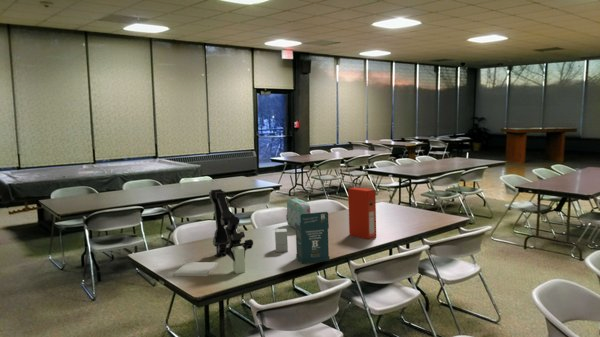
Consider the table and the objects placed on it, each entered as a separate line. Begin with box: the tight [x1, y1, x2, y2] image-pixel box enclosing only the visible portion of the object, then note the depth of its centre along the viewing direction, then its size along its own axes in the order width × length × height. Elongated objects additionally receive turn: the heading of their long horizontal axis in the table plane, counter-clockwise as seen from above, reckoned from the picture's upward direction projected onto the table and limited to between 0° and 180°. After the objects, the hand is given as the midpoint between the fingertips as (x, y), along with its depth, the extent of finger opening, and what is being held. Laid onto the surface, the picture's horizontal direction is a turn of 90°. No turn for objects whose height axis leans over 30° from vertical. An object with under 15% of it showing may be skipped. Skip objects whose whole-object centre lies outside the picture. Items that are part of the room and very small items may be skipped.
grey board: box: [173, 261, 219, 277], centre depth 243 cm, size 18×18×2 cm
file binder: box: [347, 186, 377, 240], centre depth 300 cm, size 8×17×32 cm, turn 39°
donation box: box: [295, 211, 331, 265], centre depth 256 cm, size 16×16×28 cm
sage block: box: [231, 246, 246, 274], centre depth 238 cm, size 5×5×13 cm
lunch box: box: [285, 197, 311, 230], centre depth 331 cm, size 27×10×21 cm, turn 25°
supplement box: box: [274, 228, 289, 253], centre depth 274 cm, size 7×7×13 cm
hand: (239, 260), depth 237 cm, fingers closed on sage block, 5 cm apart
